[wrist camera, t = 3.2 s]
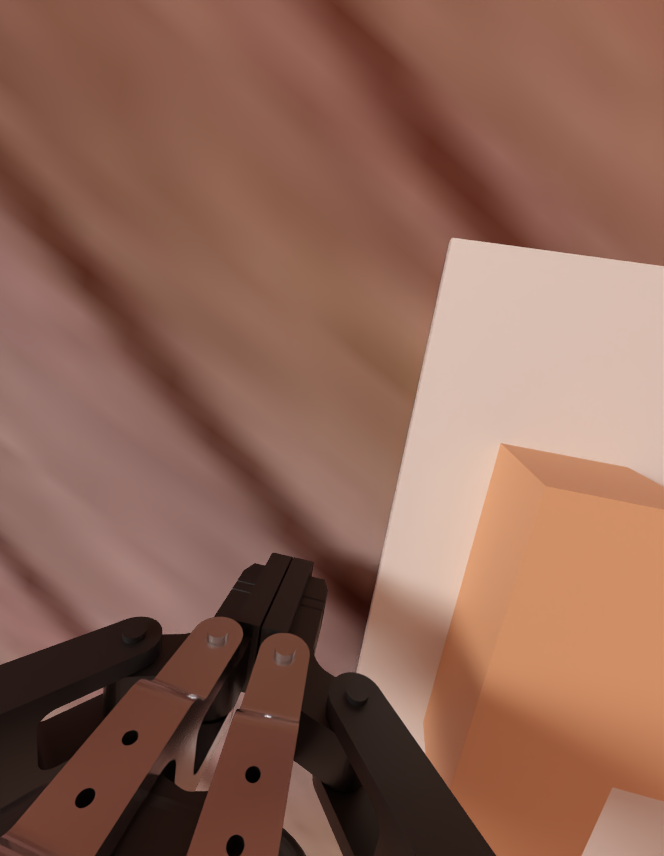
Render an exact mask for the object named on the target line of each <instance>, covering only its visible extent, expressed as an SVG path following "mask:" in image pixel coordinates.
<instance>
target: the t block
mask: <svg viewBox="0 0 664 856" xmlns="http://www.w3.org/2000/svg"><path fill="white" fill-rule="evenodd" d="M423 728H424V741H425V754H426V756H427V757H428V759H429V760H430V762H431V763H432V764H433V766H434V767H435V769H436V770H437V772H438V773H439V774H440V776H441V777H442V779H443V780H444V782H445V783H446V784H447V786H448V787H449V789H450V790H451V792H452V793H453V795H454V796H455V797H456V799H457V800H458V802H459V803H460V805H461V806H462V807H463V809H464V810H465V812H466V813H467V815H468V816H469V817H470V819H471V820H472V822H473V823H474V825H475V826H476V827H477V829H478V830H479V832H480V833H481V835H482V836H483V837H484V839H485V840H486V842H487V843H488V845H489V846H490V847H491V849H492V850H493V852H494V853H495V855H496V856H582V854H583V851H584V849H585V847H586V845H587V843H588V840H589V838H590V836H591V834H592V832H593V829H594V827H595V825H596V823H597V820H598V818H599V816H600V814H601V812H602V809H603V807H604V805H605V803H606V800H607V798H608V796H609V794H610V792H611V789H612V787H613V788H617V789H621V790H624V791H628V792H631V793H635V794H639V795H642V796H646V797H649V798H653V799H656V800H660V801H664V487H663V486H661V485H660V484H658V483H656V482H654V481H652V480H650V479H648V478H647V477H645V476H643V475H641V474H639V473H637V472H635V471H634V470H632V469H630V468H628V467H623V466H618V465H613V464H608V463H602V462H597V461H592V460H587V459H581V458H576V457H571V456H566V455H561V454H555V453H550V452H545V451H540V450H534V449H529V448H524V447H519V446H513V445H508V444H503V443H501V444H500V447H499V451H498V454H497V458H496V462H495V465H494V469H493V472H492V476H491V480H490V483H489V487H488V490H487V494H486V498H485V501H484V505H483V508H482V512H481V516H480V519H479V523H478V526H477V530H476V533H475V537H474V541H473V544H472V548H471V551H470V555H469V559H468V562H467V566H466V569H465V573H464V577H463V580H462V584H461V587H460V591H459V595H458V598H457V602H456V605H455V609H454V613H453V616H452V620H451V623H450V627H449V631H448V634H447V638H446V641H445V645H444V649H443V652H442V656H441V659H440V663H439V667H438V670H437V674H436V677H435V681H434V684H433V688H432V692H431V695H430V699H429V702H428V706H427V710H426V713H425V717H424V720H423Z"/></svg>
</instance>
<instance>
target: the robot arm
mask: <svg viewBox="0 0 664 856" xmlns="http://www.w3.org/2000/svg"><path fill="white" fill-rule="evenodd" d="M313 564H314V562H312V561H307V560H303V559H299V558H295V557H294V558H293V557H290V556H286V555H281V554H277V553H272V555H271V556H270V558H269V560H268V562H267V564H266V565H265V566H264V565H260V564H256V563H255V564H253V565H252V566H250V567H248V568H247V569H245V570H244V571H243V573H242V574H241V576H240V577H239V579H238V581H237V582H236V584H235V585H234V587H233V589H232V590H231V591H230V593H229V595H228V596H227V598H226V599H225V601H224V602H223V604H222V605H221V607H220V609H219V610H218V612H217V613H216V615H215V616H214V617H213V618H209V619H206V620H204V621H202V622H201V623H200V624H198V625H197V626H196V627H195V629H194V630H193V631H192V632H191V633H188V634H165V635H162V627H161V625H160V624H159V622H157V621H156V620H154V619H152V618H149V617H133V618H129V619H126V620H123V621H120V622H118V623H115V624H112V625H109V626H107V627H104V628H101V629H98V630H96V631H93V632H90V633H87V634H84V635H82V636H79V637H76V638H73V639H71V640H68V641H65V642H62V643H60V644H57V645H54V646H51V647H49V648H46V649H43V650H40V651H38V652H35V653H32V654H29V655H27V656H24V657H21V658H18V659H16V660H13V661H10V662H7V663H5V664H2V665H0V856H306V854H305V853H304V851H303V850H302V848H301V847H300V845H299V844H298V843H297V842H296V840H295V839H294V838H293V837H292V836H291V835H290V834H289V833H288V832H287V831H286V830H285V829H284V828H283V822H284V816H285V809H286V803H287V797H288V791H289V784H290V778H291V772H292V766H293V760H294V761H295V762H297V763H298V764H299V765H301V766H302V767H303V768H305V769H306V770H307V771H309V772H310V773H311V774H313V775H312V776H313V785H314V788H315V791H316V793H317V796H318V798H319V800H320V803H321V805H322V807H323V810H324V812H325V814H326V817H327V819H328V821H329V824H330V826H331V828H332V831H333V833H334V835H335V838H336V840H337V843H338V845H339V847H340V850H341V852H342V854H343V856H496V855H495V853H494V852H493V850H492V849H491V847H490V846H489V845H488V843H487V842H486V840H485V839H484V837H483V836H482V835H481V833H480V832H479V830H478V829H477V827H476V826H475V825H474V823H473V822H472V820H471V819H470V817H469V816H468V815H467V813H466V812H465V810H464V809H463V807H462V806H461V805H460V803H459V802H458V800H457V799H456V797H455V796H454V795H453V793H452V792H451V790H450V789H449V787H448V786H447V784H446V783H445V782H444V780H443V779H442V777H441V776H440V774H439V773H438V772H437V770H436V769H435V767H434V766H433V764H432V763H431V762H430V760H429V759H428V757H427V756H426V754H425V753H424V752H423V750H422V749H421V747H420V746H419V744H418V743H417V742H416V740H415V739H414V737H413V736H412V734H411V733H410V732H409V730H408V729H407V727H406V726H405V724H404V723H403V722H402V720H401V719H400V717H399V716H398V714H397V713H396V712H395V710H394V709H393V707H392V706H391V704H390V703H389V702H388V700H387V699H386V697H385V696H384V694H383V693H382V691H381V690H380V689H379V687H378V686H377V685H376V683H374V682H373V681H372V680H371V679H370V678H368V677H366V676H365V675H362V674H359V673H354V672H348V673H343V674H341V675H339V676H337V677H334V676H333V675H331V674H329V673H328V672H326V671H325V670H324V669H323V668H322V667H321V666H320V665H319V664H318V662H317V661H316V658H315V656H314V654H315V649H316V645H317V641H318V637H319V633H320V629H321V624H322V619H323V614H324V608H325V603H326V597H327V592H328V589H327V586H326V583H325V580H323V579H319V578H315V577H312V571H313ZM103 687H104V688H103ZM101 688H103V694H101V695H99V696H96V697H94V698H92V699H90V700H88V701H86V702H84V703H82V704H79V705H77V706H75V707H73V708H71V709H69V710H67V711H64V712H62V713H60V714H58V715H56V716H54V717H52V718H49V719H47V720H45V721H42V722H41V720H42V719H43V718H44V717H45V716H46V715H47V714H49V713H50V712H51V711H53V710H55V709H57V708H59V707H61V706H63V705H66V704H68V703H70V702H72V701H74V700H76V699H79V698H81V697H83V696H85V695H87V694H90V693H92V692H94V691H96V690H98V689H101ZM241 692H244V693H245V695H244V698H243V701H242V704H241V707H240V709H237V710H236V712H235V714H234V716H233V719H232V722H231V725H230V728H229V731H228V734H227V737H226V740H225V743H224V746H223V749H222V752H221V755H220V758H219V761H218V764H217V767H216V770H215V773H214V776H213V779H212V782H211V785H210V788H209V790H208V791H195V790H196V788H197V785H198V783H199V781H200V779H201V778H202V776H203V774H204V772H205V770H206V768H207V766H208V764H209V762H210V760H211V758H212V756H213V754H214V752H215V750H216V748H217V746H218V744H219V742H220V740H221V738H222V736H223V734H224V732H225V730H226V729H227V727H228V725H229V723H230V721H231V718H232V715H233V710H234V706H235V704H236V702H237V700H238V697H239V695H240V693H241Z"/></svg>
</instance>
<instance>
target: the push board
mask: <svg viewBox="0 0 664 856" xmlns="http://www.w3.org/2000/svg"><path fill="white" fill-rule="evenodd" d="M501 443H503V444H508V445H513V446H519V447H524V448H529V449H534V450H540V451H545V452H550V453H555V454H561V455H566V456H571V457H576V458H581V459H587V460H592V461H597V462H602V463H608V464H613V465H618V466H623V467H628V468H630V469H632V470H634V471H635V472H637V473H639V474H641V475H643V476H645V477H647V478H648V479H650V480H652V481H654V482H656V483H658V484H660V485H661V486H663V487H664V266H657V265H649V264H642V263H635V262H627V261H620V260H612V259H605V258H598V257H590V256H583V255H576V254H568V253H561V252H553V251H546V250H539V249H531V248H524V247H517V246H509V245H502V244H494V243H487V242H480V241H472V240H465V239H458V238H452V239H451V240H450V242H449V246H448V251H447V255H446V260H445V264H444V269H443V274H442V278H441V283H440V287H439V292H438V297H437V301H436V306H435V311H434V315H433V320H432V324H431V329H430V334H429V338H428V343H427V348H426V352H425V357H424V361H423V366H422V371H421V375H420V380H419V384H418V389H417V394H416V398H415V403H414V408H413V412H412V417H411V421H410V426H409V431H408V435H407V440H406V444H405V449H404V454H403V458H402V463H401V468H400V472H399V477H398V481H397V486H396V491H395V495H394V500H393V504H392V509H391V514H390V518H389V523H388V528H387V532H386V537H385V541H384V546H383V551H382V555H381V560H380V564H379V569H378V574H377V578H376V583H375V588H374V592H373V597H372V601H371V606H370V611H369V615H368V620H367V624H366V629H365V634H364V638H363V643H362V648H361V652H360V657H359V661H358V666H357V671H356V673H359V674H362V675H365V676H366V677H368V678H370V679H371V680H372V681H373V682H374V683H376V685H377V686H378V687H379V689H380V690H381V691H382V693H383V694H384V696H385V697H386V699H387V700H388V702H389V703H390V704H391V706H392V707H393V709H394V710H395V712H396V713H397V714H398V716H399V717H400V719H401V720H402V722H403V723H404V724H405V726H406V727H407V729H408V730H409V732H410V733H411V734H412V736H413V737H414V739H415V740H416V742H417V743H418V744H419V746H420V747H421V749H422V750H423V752H424V753H425V741H424V728H423V720H424V717H425V713H426V710H427V706H428V702H429V699H430V695H431V692H432V688H433V684H434V681H435V677H436V674H437V670H438V667H439V663H440V659H441V656H442V652H443V649H444V645H445V641H446V638H447V634H448V631H449V627H450V623H451V620H452V616H453V613H454V609H455V605H456V602H457V598H458V595H459V591H460V587H461V584H462V580H463V577H464V573H465V569H466V566H467V562H468V559H469V555H470V551H471V548H472V544H473V541H474V537H475V533H476V530H477V526H478V523H479V519H480V516H481V512H482V508H483V505H484V501H485V498H486V494H487V490H488V487H489V483H490V480H491V476H492V472H493V469H494V465H495V462H496V458H497V454H498V451H499V447H500V444H501ZM582 856H664V801H660V800H656V799H653V798H649V797H646V796H642V795H639V794H635V793H631V792H628V791H624V790H621V789H617V788H613V787H612V789H611V792H610V794H609V796H608V798H607V800H606V803H605V805H604V807H603V809H602V812H601V814H600V816H599V818H598V820H597V823H596V825H595V827H594V829H593V832H592V834H591V836H590V838H589V840H588V843H587V845H586V847H585V849H584V851H583V854H582Z"/></svg>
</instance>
